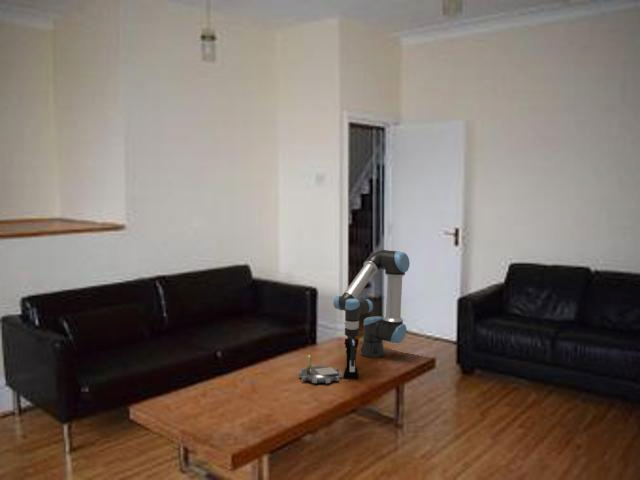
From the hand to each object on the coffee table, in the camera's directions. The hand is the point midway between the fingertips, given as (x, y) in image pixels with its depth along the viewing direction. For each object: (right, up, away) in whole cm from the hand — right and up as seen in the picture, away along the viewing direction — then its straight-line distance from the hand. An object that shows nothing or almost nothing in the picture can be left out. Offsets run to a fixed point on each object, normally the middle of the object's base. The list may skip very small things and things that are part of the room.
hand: (351, 369), depth 312 cm
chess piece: (0, -4, 0) cm, 4 cm away
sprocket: (-17, -3, -3) cm, 17 cm away
